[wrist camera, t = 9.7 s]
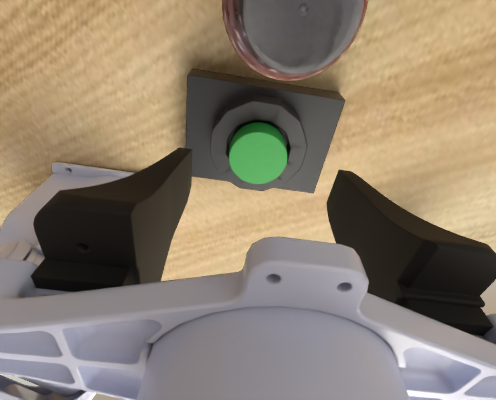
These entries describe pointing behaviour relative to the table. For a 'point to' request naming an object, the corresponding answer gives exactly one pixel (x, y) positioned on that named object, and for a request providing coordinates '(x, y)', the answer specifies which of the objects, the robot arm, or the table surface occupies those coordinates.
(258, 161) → the button
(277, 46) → the supplement bottle
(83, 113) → the table surface
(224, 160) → the control box
